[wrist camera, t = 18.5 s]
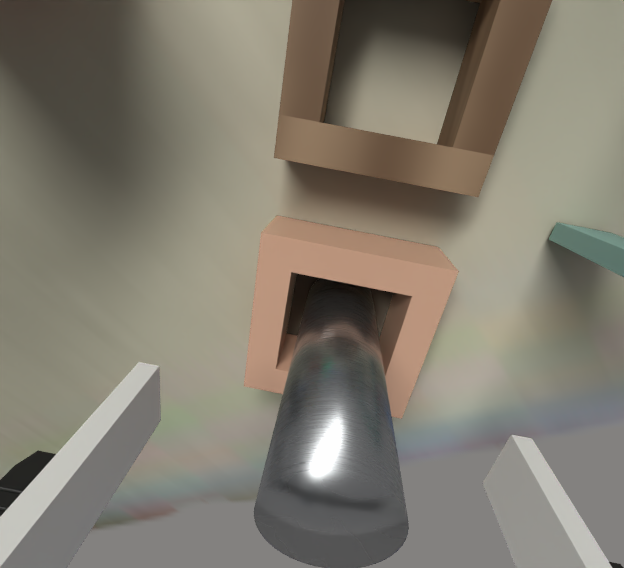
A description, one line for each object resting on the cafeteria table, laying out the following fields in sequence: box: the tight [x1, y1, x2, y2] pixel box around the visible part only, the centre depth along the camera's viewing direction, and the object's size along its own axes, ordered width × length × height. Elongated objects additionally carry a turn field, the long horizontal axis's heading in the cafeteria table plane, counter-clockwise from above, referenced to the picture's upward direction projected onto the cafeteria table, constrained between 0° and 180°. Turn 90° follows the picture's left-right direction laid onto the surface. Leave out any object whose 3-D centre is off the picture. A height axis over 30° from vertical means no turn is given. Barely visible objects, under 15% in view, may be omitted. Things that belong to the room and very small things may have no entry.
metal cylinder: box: [254, 278, 409, 568], centre depth 16 cm, size 4×4×14 cm
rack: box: [244, 216, 459, 419], centre depth 20 cm, size 10×10×4 cm
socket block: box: [274, 0, 552, 197], centre depth 15 cm, size 10×10×3 cm
